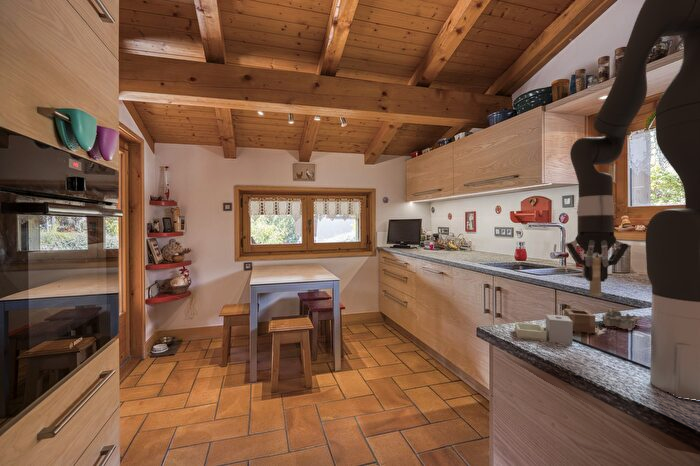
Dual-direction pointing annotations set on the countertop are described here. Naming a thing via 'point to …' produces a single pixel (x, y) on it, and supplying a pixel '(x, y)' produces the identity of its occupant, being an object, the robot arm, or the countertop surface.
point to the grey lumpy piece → (619, 319)
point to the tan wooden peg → (596, 277)
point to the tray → (530, 331)
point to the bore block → (581, 320)
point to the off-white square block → (559, 329)
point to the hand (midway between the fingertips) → (595, 280)
